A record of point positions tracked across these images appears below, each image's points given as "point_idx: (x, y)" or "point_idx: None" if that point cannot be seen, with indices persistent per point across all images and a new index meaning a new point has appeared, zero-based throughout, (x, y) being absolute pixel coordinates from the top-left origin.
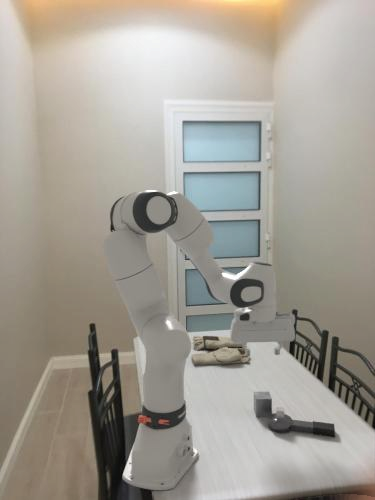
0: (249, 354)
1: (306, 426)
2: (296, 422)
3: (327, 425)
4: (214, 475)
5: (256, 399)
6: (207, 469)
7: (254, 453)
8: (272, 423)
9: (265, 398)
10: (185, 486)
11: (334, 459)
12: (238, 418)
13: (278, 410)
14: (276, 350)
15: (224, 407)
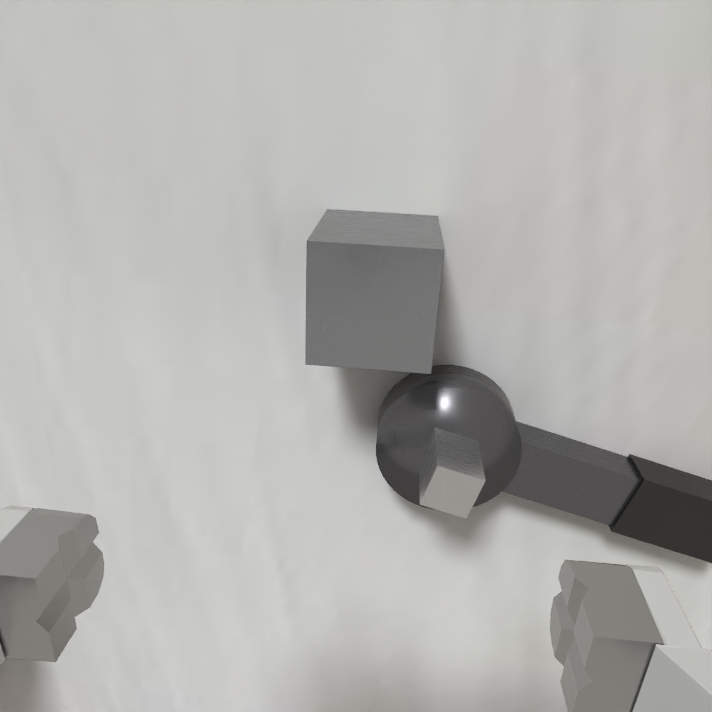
0: (82, 596)
1: (579, 512)
2: (538, 473)
3: (706, 525)
4: (106, 670)
5: (309, 364)
6: (78, 644)
7: (266, 591)
8: (388, 481)
9: (382, 362)
10: (16, 697)
11: None
12: (212, 318)
13: (433, 505)
14: (588, 709)
15: (119, 169)
